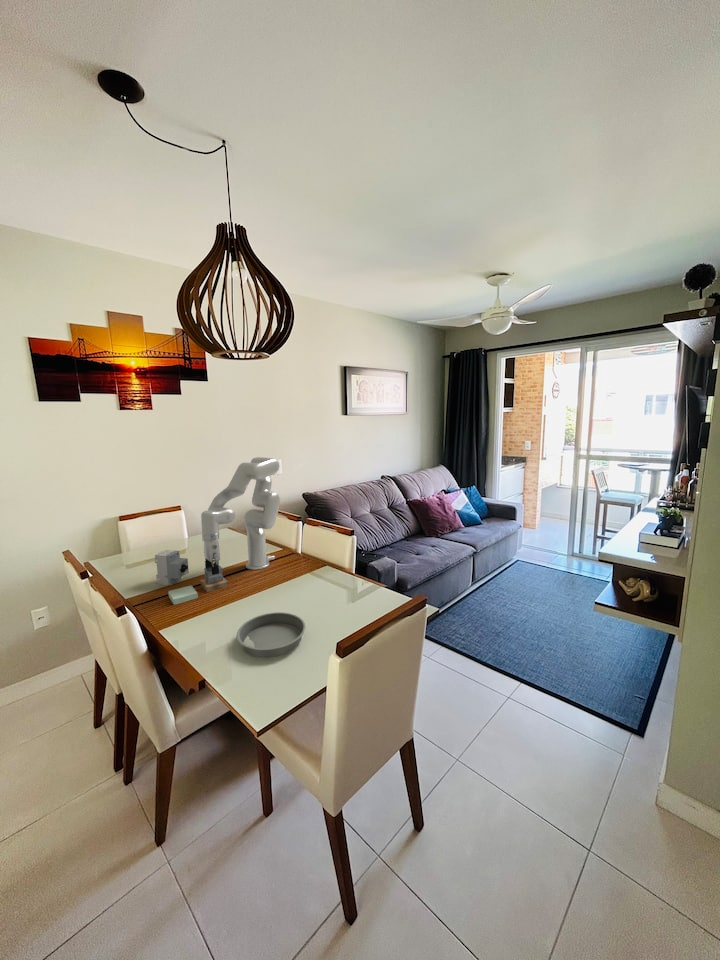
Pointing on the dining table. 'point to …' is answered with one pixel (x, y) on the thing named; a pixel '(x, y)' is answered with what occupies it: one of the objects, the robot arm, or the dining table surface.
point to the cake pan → (272, 634)
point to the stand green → (182, 594)
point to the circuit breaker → (170, 567)
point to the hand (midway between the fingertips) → (212, 570)
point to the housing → (213, 578)
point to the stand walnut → (214, 585)
